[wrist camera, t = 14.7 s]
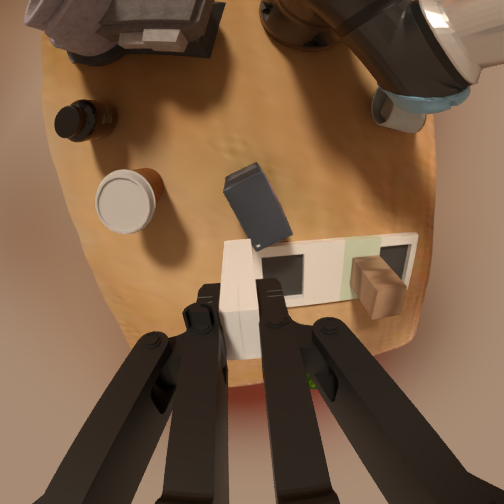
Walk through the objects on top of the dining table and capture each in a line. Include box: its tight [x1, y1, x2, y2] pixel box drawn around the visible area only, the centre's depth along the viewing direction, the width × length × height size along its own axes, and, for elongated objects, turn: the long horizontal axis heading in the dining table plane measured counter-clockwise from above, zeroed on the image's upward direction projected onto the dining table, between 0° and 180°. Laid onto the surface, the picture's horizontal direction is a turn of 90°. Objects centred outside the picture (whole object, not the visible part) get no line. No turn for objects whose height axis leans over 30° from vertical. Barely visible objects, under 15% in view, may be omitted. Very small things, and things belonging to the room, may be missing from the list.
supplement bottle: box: [54, 99, 118, 142], centre depth 34 cm, size 7×7×12 cm
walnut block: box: [350, 255, 407, 320], centre depth 48 cm, size 6×6×12 cm
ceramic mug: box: [371, 87, 426, 133], centre depth 37 cm, size 11×8×8 cm
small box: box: [223, 162, 293, 252], centre depth 43 cm, size 11×6×10 cm, turn 26°
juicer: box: [24, 0, 226, 66], centre depth 21 cm, size 30×16×24 cm, turn 78°
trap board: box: [252, 232, 419, 307], centre depth 55 cm, size 35×14×2 cm, turn 94°
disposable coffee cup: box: [95, 168, 163, 234], centre depth 40 cm, size 10×10×12 cm
